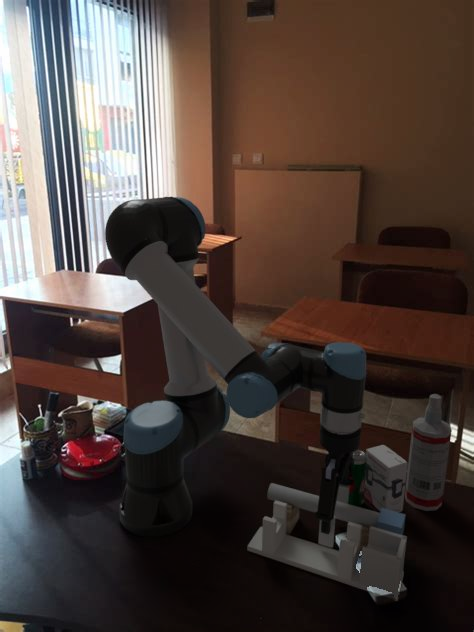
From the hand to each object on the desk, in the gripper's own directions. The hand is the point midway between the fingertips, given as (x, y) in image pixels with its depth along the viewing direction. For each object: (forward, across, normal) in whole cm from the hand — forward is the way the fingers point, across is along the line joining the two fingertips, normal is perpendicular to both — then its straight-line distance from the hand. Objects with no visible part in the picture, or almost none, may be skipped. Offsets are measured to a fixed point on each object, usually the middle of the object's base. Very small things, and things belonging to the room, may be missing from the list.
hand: (333, 528), depth 106 cm
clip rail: (+2, -8, 0) cm, 8 cm away
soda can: (+2, +13, 0) cm, 13 cm away
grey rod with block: (-3, 0, 0) cm, 3 cm away
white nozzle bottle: (+3, +21, -14) cm, 26 cm away
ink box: (+3, +16, -6) cm, 17 cm away
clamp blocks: (+2, 0, +2) cm, 3 cm away
